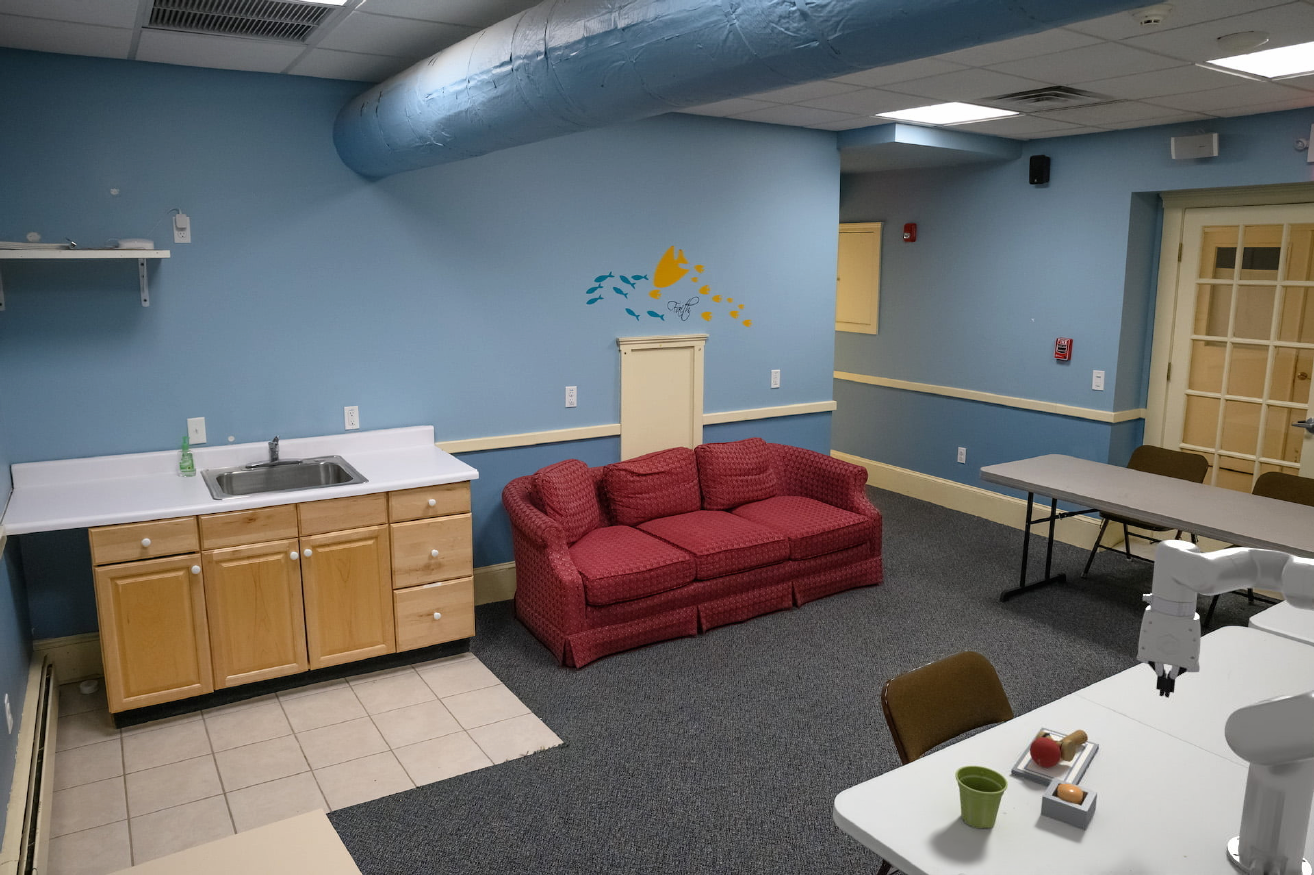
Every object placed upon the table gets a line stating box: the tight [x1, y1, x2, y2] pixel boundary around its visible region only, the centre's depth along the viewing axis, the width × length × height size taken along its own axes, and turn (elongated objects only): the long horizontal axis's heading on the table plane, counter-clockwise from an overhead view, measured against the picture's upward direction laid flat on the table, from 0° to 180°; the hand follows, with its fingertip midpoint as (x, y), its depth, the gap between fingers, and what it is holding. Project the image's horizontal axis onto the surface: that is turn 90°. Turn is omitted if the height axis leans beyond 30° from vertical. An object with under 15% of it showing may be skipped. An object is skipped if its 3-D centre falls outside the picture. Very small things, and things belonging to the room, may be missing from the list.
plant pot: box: [955, 765, 1009, 829], centre depth 172 cm, size 9×9×9 cm
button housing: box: [1040, 778, 1098, 831], centre depth 175 cm, size 8×8×4 cm
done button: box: [1057, 784, 1083, 805], centre depth 174 cm, size 4×4×3 cm
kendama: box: [1030, 729, 1089, 768], centre depth 193 cm, size 8×6×18 cm
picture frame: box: [1010, 727, 1100, 787], centre depth 193 cm, size 22×12×1 cm, turn 142°
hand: (1164, 694), depth 176 cm, fingers closed
